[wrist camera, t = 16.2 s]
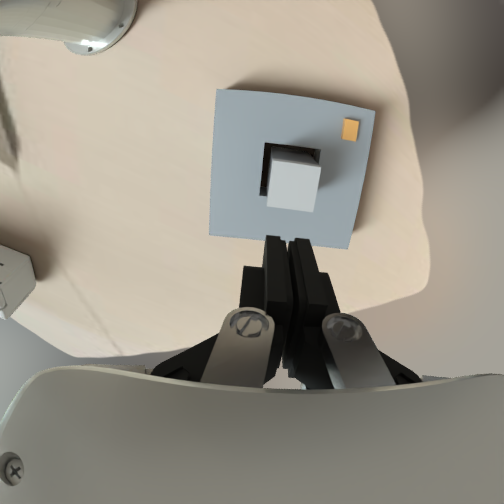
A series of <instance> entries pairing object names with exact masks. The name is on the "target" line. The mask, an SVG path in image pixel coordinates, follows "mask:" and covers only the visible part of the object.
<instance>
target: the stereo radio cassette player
mask: <svg viewBox="0 0 504 504" xmlns="http://www.w3.org/2000/svg"><path fill="white" fill-rule="evenodd" d="M35 286H36V280H35V275H34V271H33V267H32V263H31V259H30V256H28V255H25V254H23V253H20V252H17V251H15V250H12V249H10V248H7V247H5V246H2V245H0V317H1V318H3V319H8V318H9V317H10V316H11V315H12V314H13V312H14V311H15V310H16V309H17V308H18V307H19V306H20V305H21V304H22V302H23V301H24V300H25V299H26V298H27V297H28V296H29V294H30V293H31V292H32V291H33V290H34V288H35Z"/></svg>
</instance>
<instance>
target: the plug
mask: <svg viewBox="0 0 504 504" xmlns="http://www.w3.org/2000/svg"><path fill="white" fill-rule="evenodd" d="M320 172H321V167H320V165H319V164H318V163H317V162H316V161H315V160H314V158H313V157H312V156H311V155H310V154H309V153H308V152H307V151H302V150H295V149H289V148H281V147H274V146H271V152H270V160H269V168H268V176H267V206H268V207H276V208H284V209H292V210H299V211H306V212H313V210H314V205H315V199H316V194H317V189H318V183H319V178H320Z"/></svg>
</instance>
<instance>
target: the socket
mask: <svg viewBox="0 0 504 504" xmlns="http://www.w3.org/2000/svg"><path fill="white" fill-rule="evenodd" d="M374 118H375V111H373V110H369V109H365V108H360V107H356V106H351V105H347V104H342V103H337V102H332V101H326V100H321V99H315V98H309V97H302V96H295V95H287V94H279V93H270V92H259V91H246V90H229V89H217V90H216V103H215V117H214V132H213V148H212V167H211V190H210V220H209V235H212V236H223V237H233V238H243V239H253V240H263V241H265V239H266V235H273V236H280V237H281V240H285V241H286V243H289V241H294V239H295V238H305V239H309V240H310V243H311V246H321V247H330V248H339V249H348V247H349V243H350V239H351V235H352V231H353V227H354V222H355V218H356V214H357V210H358V205H359V201H360V196H361V191H362V187H363V182H364V177H365V172H366V166H367V161H368V156H369V150H370V144H371V138H372V132H373V125H374ZM265 142H267V143H276V144H284V145H293V146H300V147H307V148H314V149H315V151H314V160H315V161H316V162H317V163H318V164H319V165H320V167H321V172H320V178H319V183H318V189H317V194H316V199H315V205H314V210H313V212H306V211H299V210H292V209H284V208H276V207H268V206H267V187H260V183H261V173H262V164H263V154H264V144H265Z"/></svg>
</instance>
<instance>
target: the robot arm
mask: <svg viewBox="0 0 504 504" xmlns="http://www.w3.org/2000/svg"><path fill="white" fill-rule="evenodd" d="M136 10H137V0H0V36H16V37H29V38H39V39H48V40H55V41H62V42H64V44H65V46H66V47H67V49H68V50H69V51H71V52H72V53H75V54H78V55H94V54H97V53H100V52H102V51H104V50H106V49H108V48H109V47H111V46H112V45H113V44H115V43H116V42H117V41H118V40H119V39H120V38H121V37H122V36H123V35H124V33H125V32H126V31H127V30H128V28H129V26H130V25H131V23H132V21H133V19H134V17H135V13H136ZM123 26H124V27H123ZM281 357H282V363H283V368H284V369H288V377H289V378H296V379H297V380H299V381H300V382H301V386H300V387H301V389H299V390H298V389H269V388H263V385H264V384H265V383H266V382H268V381H269V380H270V379H272V378H273V377H274V376H275V374H276V370H277V368H279V365H280V361H281ZM0 504H504V375H502V374H492V373H489V374H476V375H469V376H462V377H455V378H446V377H434V376H424V375H422V376H421V378H419V376H418V375H417V374H415V373H414V372H413V371H411V370H410V369H408V368H406V367H405V366H403V365H401V364H400V363H398V362H397V361H395V360H394V359H392V358H390V357H389V356H387V355H386V354H384V353H382V352H381V351H379V350H378V349H377V347H376V345H375V343H374V342H373V340H372V338H371V336H370V334H369V332H368V331H367V329H366V327H365V326H364V324H363V323H362V322H361V321H360V320H359V319H357V318H356V317H353V316H352V315H349V314H345V313H340V309H339V306H338V303H337V300H336V296H335V293H334V290H333V287H332V284H331V281H330V277H329V275H328V273H324V272H319V270H318V266H317V263H316V259H315V256H314V253H313V249H312V246H311V243H310V240H309V239H305V238H295V239H294V241H289V244H288V250H287V247H286V241H285V240H281V237H280V236H273V235H266V239H265V247H264V256H263V264H262V267H251V266H244V268H243V277H242V286H241V295H240V304H239V308H238V309H235V310H233V311H231V312H230V313H228V315H227V316H226V318H225V319H224V322H223V325H222V327H221V330H220V332H219V333H218V334H216V335H214V336H212V337H211V338H209V339H207V340H205V341H203V342H201V343H199V344H197V345H195V346H193V347H191V348H190V349H188V350H186V351H184V352H182V353H180V354H178V355H176V356H174V357H172V358H170V359H168V360H166V361H164V362H162V363H160V364H159V365H157V366H156V367H155V368H154V369H146V367H145V365H98V364H86V365H81V366H62V367H55V368H49V369H46V370H42V371H40V372H38V373H36V374H35V375H33V376H32V377H31V378H30V379H29V380H28V381H27V382H25V384H24V385H23V386H22V388H21V389H20V390H19V392H18V393H17V395H16V396H15V397H14V399H13V400H12V402H11V403H10V405H9V407H8V409H7V410H6V412H5V414H4V416H3V418H2V420H1V422H0Z"/></svg>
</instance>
